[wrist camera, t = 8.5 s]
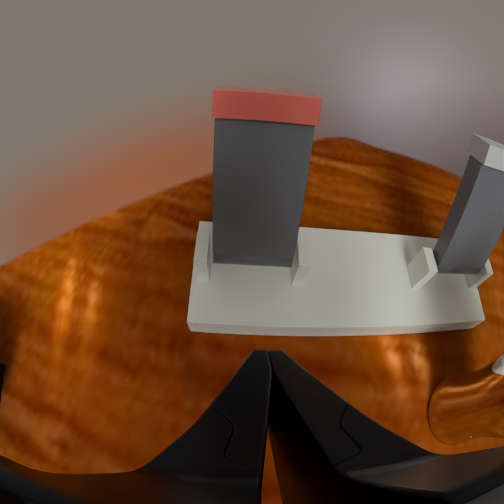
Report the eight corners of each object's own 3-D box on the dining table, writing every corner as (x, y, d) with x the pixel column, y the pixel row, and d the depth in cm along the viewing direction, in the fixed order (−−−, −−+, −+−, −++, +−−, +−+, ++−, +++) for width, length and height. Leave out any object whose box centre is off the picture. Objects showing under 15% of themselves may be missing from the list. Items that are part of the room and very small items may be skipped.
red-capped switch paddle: (293, 275, 20) (321, 99, 14) (210, 270, 20) (213, 90, 13) (290, 256, 22) (313, 94, 15) (213, 252, 21) (217, 86, 15)
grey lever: (479, 280, 21) (534, 163, 14) (433, 280, 20) (490, 144, 14) (468, 264, 22) (518, 150, 16) (423, 262, 22) (472, 133, 15)
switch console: (471, 328, 22) (505, 306, 18) (190, 331, 21) (180, 306, 17) (452, 252, 27) (478, 223, 23) (201, 236, 26) (196, 197, 22)
